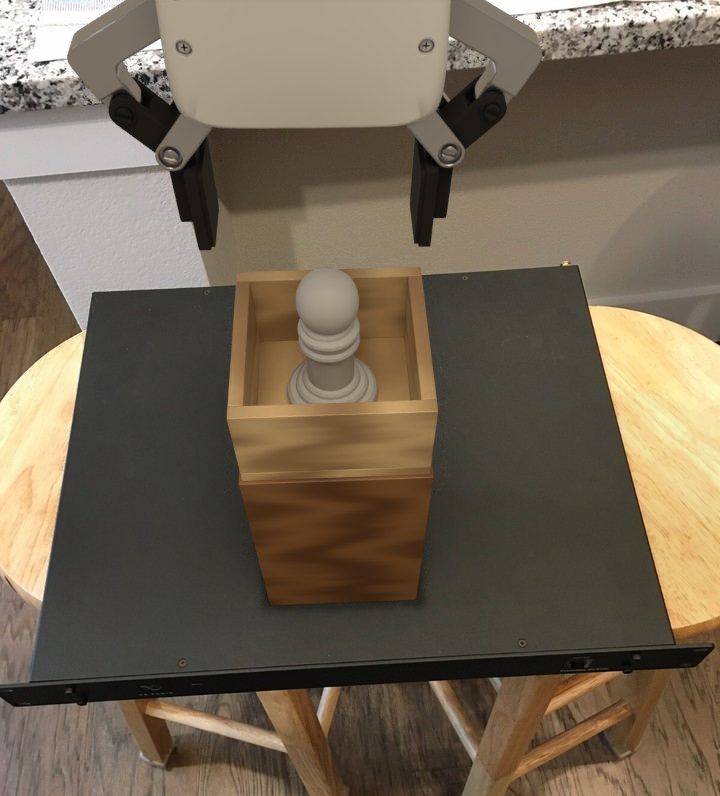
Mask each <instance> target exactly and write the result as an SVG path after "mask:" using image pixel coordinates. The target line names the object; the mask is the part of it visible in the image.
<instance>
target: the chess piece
mask: <svg viewBox="0 0 720 796" xmlns="http://www.w3.org/2000/svg"><path fill="white" fill-rule="evenodd" d="M338 269H339V268H335V267H330V266H329V267H327V266H325V267H320V268H319V267H318V268H315V269H312V270H313V271H311V272H310V273H308V274H307V275H306V276H305V277H304V278H303V279H302V280H301V282H300V284H299V286H298V288H297V292H296V308H297V312H298V315H299V317H300V320H299V322H298V326H297V331H298V335H299V340H298V341H299V346H300V348H301V350H302V352H303V353H304V354H305V355H306V360H305V361H304V362H302V363H301V364H300V365H299V366H297V367H296V369H295V370H294V371H293V373H292V374H291V376H290V378H289V382H288V385H287V397H288V400H289V403H290V405H291V404H320V403H349V402H375V400H376V398H377V393H378V386H377V381H376V379H375V376H374V374H373V372H372V371H371V369H370V368H369V367H368V366H367V365H366V364H365V363H364V362H362V361H361V360H359V359H357V358H355V357H354V353H355V352H356V350H357V349H358V346H359V343H360V335H359V332H360V324H359V321H358V318H357V316H356V315H357V312H358V308H359V295H358V290H357V287H356V285H355V283H354V282H353V280H352V279H351V278H350V277H349V276H348V275H347V274H346V273H345V272H343V271H341V270H338Z"/></svg>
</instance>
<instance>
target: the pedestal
mask: <svg viewBox="0 0 720 796" xmlns="http://www.w3.org/2000/svg"><path fill="white" fill-rule="evenodd" d="M434 477H435V476H434V469H433V461H432V462H431V468H430V474H422V475H394V476H367V477H339V478H312V479H284V480H256V481H242V478H241V474H240V470H239V472H238V487H239V490H240V495H241V499H242V502H243V506H244V511H245V514H246V518H247V522H248V526H249V529H250V533H251V536H252V541H253V545H254V549H255V552H256V556H257V560H258V564H259V567H260V568H259V569H260V572H261V576H262V579H263V583H264V587H265V591H266V594H267V598H268V602H269V605H270V606H289V605H292V606H293V605H316V604H318V605H319V604H341V603H342V604H343V603H367V602H368V603H370V602H371V603H372V602H390V601H391V602H394V601H415V600H417V595H418V589H419V581H420V575H421V570H422V569H421V567H422V561H423V553H424V547H425V541H426V533H427V527H428V521H429V520H428V519H429V513H430V504H431V499H432V490H433V485H434Z"/></svg>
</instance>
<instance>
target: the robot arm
mask: <svg viewBox="0 0 720 796" xmlns="http://www.w3.org/2000/svg"><path fill="white" fill-rule="evenodd" d="M450 38H451V39H453V40H455V41H457V42H458V43H460V44H462V45H464V46H466V47H467V48H469V49H471V50H473V51H475V52H476V53H478V54H479V55H482V56H483V57H485V58H487V59H489V61H487V64H486V66H485V69H484V71H483V72H482V73H480V74H479V75H478V76H476V77H475V78H473V80H471V82H469V83H468V84H467V85H466V86H465V87H464V88H463V89H462V90H460V91H459V92H458V93H457V94H456V95H455V96H453V97H452V98H451V99H450V97H449V96H448V95H447V93H446V92H445V91H444V90H445V89H444V88H445V83H446V76H447V75H446V74H447V66H448V54H449V41H450ZM159 40H160V44H161V49H162V56H163V62H164V67H165V72H166V77H167V82H168V86H169V89H170V93H171V98H170V99H169V101H168V102H167V101H166V100H164V99H163V98H162V97H161V96H159V95H158V94H157V93H156V92H155V91H153V90H152V89H151V88H149V86H147V85H145V84H144V83H143V82H141V80H139V79H137V78H136V77H134V76H132V75H131V73H130V72H129V69H128V67H127V66H126V65H125V63H124V62H125V61H126V60H128V59H130V58H131V57H132V56H134V55H137V53H139V52H141V51H143V50H144V49H146V48H148V47H149V46H151V45H153V44H154V43H156V42H158V41H159ZM542 58H543V51H542V48H541V45H540V41H539V39H538V35H537V32H536V31H535V29H533V27H531V26H529V25H527V24H526V23H524V22H522V21H521V20H519V19H517V18H516V17H514V16H512V15H511V14H509V13H507V12H506V11H504V10H503V9H501V8H499V7H497V6H496V5H495V4H492V3H491V2H489V1H487V0H124V1H121V2H120V3H118V4H117V5H115V6H114V7H112V8H111V9H109V10H108V11H106V12H105V13H103V14H102V15H100V16H98V17H97V18H95V19H93V20H92V21H91V22H89V23H87V24H85V25H84V26H83V27H81V28H80V29H78V30H76V31H75V32H74V34H73V35H72V38H71V41H70V44H69V48H68V51H67V55H66V59H67V63H68V65H69V67H70V68H71V69H72V70H73V72H74V73H75V74H76V75H77V76H78V78H79V79H80V80H81V82H83V84H84V85H85V86H86V88H88V90H89V91H90V92H91V94H93V96H94V97H95V98H96V99H97V101H98V102H101V103H103V105H104V106H105V108H107V111H108V115H109V118H110V120H111V121H112V122H113V123H114V124H115V125H116V126H117V127H119V128H120V129H121V130H123V131H124V132H126V133H127V134H128V135H130V137H132V138H134V139H135V140H137V142H139V143H141V144H142V145H143V146H144V147H146V148H147V149H149V150H150V151H152V152H153V153H154V158H155V161H156V163H157V164H158V166H159V167H161V168H163V169H164V170H166V171H168V172H169V176H170V180H171V185H172V189H173V195H174V198H175V203H176V207H177V212H178V216H179V220H180V222H181V223H192V225H193V229H194V235H195V239H196V244H197V247H198V251H212V249H213V248H215V247H217V235H218V225H219V215H220V204H219V198H218V197H219V196H218V192H217V184H216V179H215V174H214V167H213V162H212V157H211V156H212V155H211V151H210V144H209V139H208V135H209V134H210V132H211V131H212V130H213V128H217V129H235V130H237V129H243V130H249V129H250V130H252V129H253V130H255V129H257V130H258V129H261V130H262V129H263V130H265V129H269V130H271V129H272V130H273V129H275V130H277V129H278V130H279V129H285V130H286V129H287V130H288V129H289V130H290V129H291V130H292V129H295V130H296V129H354V128H355V129H358V128H359V129H363V128H364V129H365V128H366V129H367V128H390V127H401V126H406V128H407V129H408V130H409V131H410V132H411V133H412V135H413V136H414V143H413V144H414V145H413V154H412V155H413V156H412V157H413V158H412V168H411V182H410V193H409V211H410V220H411V229H412V238H413V244H414V245H418V248H431V244H432V238H433V237H432V236H433V227H434V220H435V219H446V218H447V215H448V208H449V201H450V196H451V195H450V193H451V188H452V187H451V185H452V179H453V171H454V168H455V167H457V166H459V164H461V163H462V162H463V160H464V159H465V154H466V151H465V150H466V149H468V148H469V147H470V146H472V144H474V143H475V142H477V140H479V139H480V138H482V136H484V135H485V134H486V133H488V132H489V131H490V130H492V128H493V127H495V126H496V125H497V124H498V123H499V122H501V121H502V120H503V119H504V117H505V115H506V113H507V110H508V107H507V106H508V105H509V103H510V102H511V101H512V99H513V98H516V97H517V95H518V94H519V92H520V91H521V90H522V88H523V87H524V85H525V84H526V83H527V81H528V80H529V79H530V78H531V76H532V74H533V73H534V72H535V71H536V69H537V68H538V67H539V65H540V63H541V61H542V60H543V59H542Z"/></svg>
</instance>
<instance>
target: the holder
mask: <svg viewBox="0 0 720 796" xmlns="http://www.w3.org/2000/svg"><path fill="white" fill-rule="evenodd" d="M337 269H338V270H341V271H343V272H345V273H346V274H347V275H348V276H349V277H350V278H351V279H352V280H353V282H354V283H355V285H356V287H357V290H358V295H359V308H358V312H357V315H356V316H357V318H358V321H359V324H360V332H359V335H360V343H359V346H358V349H357V350H356V352H355V353H354V357H355V358H357V359H359V360H361V361H362V362H364V363H365V364H366V365H367V366H368V367H369V368H370V369H371V371H372V372H373V374H374V376H375V379H376V381H377V386H378V393H377V398H376V400H375V402H349V403H320V404H291V405H290V403H289V400H288V397H287V385H288V382H289V378H290V376H291V374H292V373H293V371H294V370H295V369H296V367H297V366H299V365H300V364H301V363H302V362H304V361H305V360H306V355H305V354H304V353H303V352H302V350H301V348H300V346H299V341H298V340H299V335H298V331H297V326H298V322H299V320H300V317H299V315H298V312H297V308H296V292H297V288H298V286H299V284H300V282H301V280H302V279H303V278H304V277H305V276H306V275H307V274H308V273H310V272H311V271H313V270H314V269H302V270H301V269H299V270H298V269H297V270H295V269H294V270H266V271H237V272H236V278H235V293H234V305H233V307H234V308H233V321H232V335H231V336H232V337H231V347H230V348H231V349H230V364H229V379H228V380H229V382H228V393H227V394H228V395H227V406H226V422H227V426H228V431H229V433H230V438H231V442H232V446H233V450H234V453H235V458H236V462H237V466H238V469H239V470H240V474H241V478H242V481H256V480H284V479H312V478H339V477H367V476H394V475H422V474H430V468H431V462H432V463H433V454H434V446H435V445H434V444H435V439H436V431H437V425H438V417H439V405H438V400H437V399H438V397H437V390H436V380H435V373H434V366H433V365H434V364H433V357H432V348H431V340H430V332H429V323H428V316H427V308H426V299H425V291H424V283H423V276H422V268H421V266H396V267H395V266H394V267H364V268H363V267H361V268H337Z"/></svg>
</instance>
